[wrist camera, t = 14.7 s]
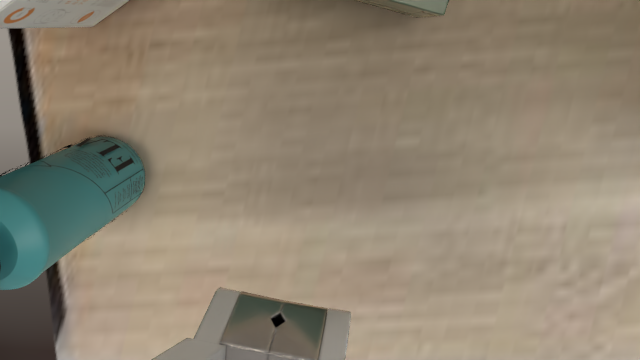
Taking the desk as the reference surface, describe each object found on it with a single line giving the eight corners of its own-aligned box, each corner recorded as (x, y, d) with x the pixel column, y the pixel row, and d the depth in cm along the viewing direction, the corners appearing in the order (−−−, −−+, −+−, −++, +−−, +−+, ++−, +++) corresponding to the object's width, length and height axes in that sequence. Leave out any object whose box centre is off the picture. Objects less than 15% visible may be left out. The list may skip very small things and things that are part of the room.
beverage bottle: (166, 149, 45) (11, 245, 26) (141, 219, 47) (-21, 356, 28) (92, 116, 45) (-119, 187, 26) (69, 187, 47) (-142, 303, 28)
